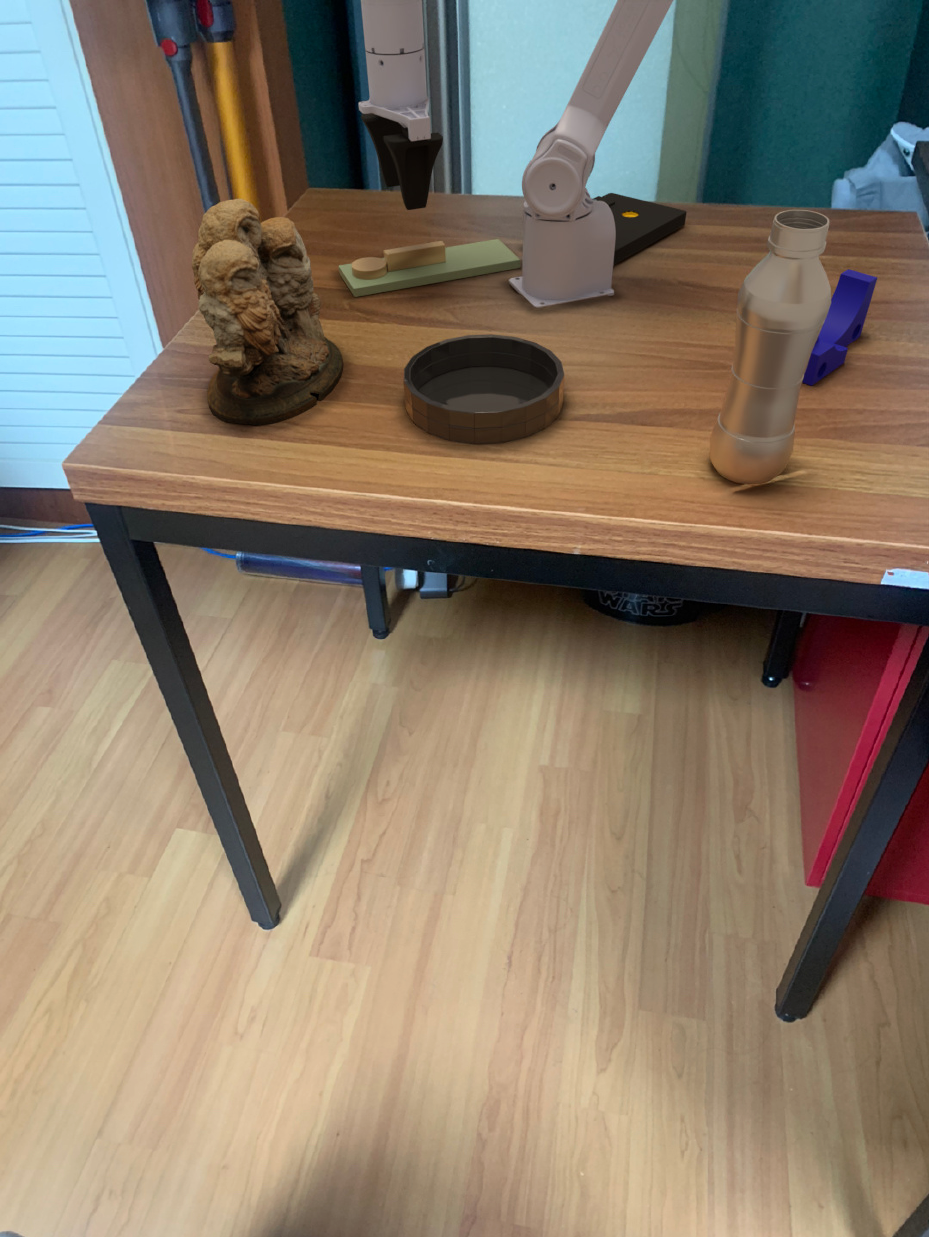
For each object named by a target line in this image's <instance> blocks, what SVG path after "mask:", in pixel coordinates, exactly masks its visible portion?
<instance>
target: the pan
mask: <svg viewBox="0 0 929 1237" xmlns="http://www.w3.org/2000/svg"><path fill="white" fill-rule="evenodd" d="M403 389H404V390H403V391H404V403H405V411H406V413H407V414H408V416H409V418H410V419H411V421H412V423H413V424H415V426H417V427H418V428H419V429H421V430H422V431H424V432H426V433H428V434H430V435H432V436H433V437H436V438H440V439H443V440H446V441H449V442H454V443H455V442H456V443H461V444H469V445H493V444H494V445H495V444H502V443H508V442H513V441H518V440H521V439H525V438H528V437H530V436H533V435H535V434H536V433H539V432H541V431H542V430H544V429H545V428H547V427H548V426H550V425H551V424H552V423H553V422H554V421H555V420H556V419H557V418H558V417H559V415H560V412H561V410H562V407H563V404H564V390H565V370H564V366H563V362H562V361H561V360H560V359H559V357H558V356H557V355H556V354H555V353H554V352H553V351H552V350H550V349H548V348H547V347H545V346H543V345H541V344H540V343H537V342H535V341H533V340H528V339H525V338H520V337H518V336H513V335H511V336H510V335H504V334H503V335H501V334H492V333H490V334H489V333H487V334H467V335H462V336H457V337H451V338H447V339H443V340H441V341H438V342H436V343H433V344H430V345H427V346H426V347H424V348H423V349H421V350H420V351H419V352H417V353H416V354H414V355H413V356H412V357H410V359H409V361H408V362H407V363H406V365H405V366H404V368H403Z"/></svg>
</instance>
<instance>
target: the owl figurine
mask: <svg viewBox="0 0 929 1237" xmlns="http://www.w3.org/2000/svg"><path fill="white" fill-rule="evenodd" d="M197 235H198V237H197V238H198V239H197V240H198V241H197V243H196V244H195V246H194V248H193V249H192V253H191V260H192V261H191V268H192V272H193V277H194V278H193V283H194V285H195V289H196V291H197V298H198V302H197V304H198V310H199V312H200V314H201V315H203V318H204V321H205V323H206V324H207V325H208V327H209V328H211V329H212V331H213V338H214V339H215V343H216V344H214V345H213V346H212V349H211V351H212V352H211V353H210V354H209V355H208V361H209V363H210V364H212V365H214V366H217V367H218V369H217V370H216V372H214V373H213V376H212V377H211V379H210V381H209V383H208V387H207V391H206V398H207V403H208V407H209V409H210V412H211V413H212V415H213V416H214V417H216V418H217V419H218V418H219V419H220V420H221V421H223V422H224V423H226V424H227V423H230V424H232V423H233V424H243V425H246V424H247V425H252V426H257V427H259V426H267V425H273V424H278V423H280V422H284V421H288V420H290V419H293V418H295V417H297V416H299V415H301V414H303V413H305V412H307V411H308V410H310V409H313V408H314V407H315V406H316V405H317V404H318V402H322V401H323V400H324V399H326V397H328V395H329V394H331V392H332V391H334V389H335V387H336V386H337V384H338V383H339V381H340V379H341V378H342V374H343V371H344V359H343V355H342V352H341V350H340V348H339V347H338V346H337V345H336V344H335V343H334V342H333V341H332V340H329V339H328V338H327V337H326V336H325V334H324V330H323V326H322V323H321V320H320V313H321V311H320V310H321V304H322V301H321V296H320V295H319V294H317V293H315V292H314V289H315V288H314V278H313V277H312V276H313V275H312V274H313V271H312V268H311V267H312V266H311V260H310V257H309V256H308V254H307V253H308V251H307V249H306V246H305V245H306V244H304V241H303V238H302V237H301V234H300V233H299V231H298V229H297V227H296V225H295V222H294V221H292V220H291V219H290V218H288V217H283V216H275V217H271V218H268V219H266V220H263V221H262V222H261V215H260V213H259V211H258V210H257V208H256V206H255V205H254V204H252V203H251V202H250V201H247V200H245V199H244V198H234V199H229V200H222V201H219V202H217V204H215V205H212V206H210V207H209V208H208V209H207V210H206V211H205V213H203V215H202V219H201V223H200V226H199V229H198V231H197ZM259 365H260V366H259ZM257 366H258V367H257ZM311 393H312V394H317V395H318V399H317V397H316V396H314V395H312V394H311Z"/></svg>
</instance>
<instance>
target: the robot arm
mask: <svg viewBox="0 0 929 1237" xmlns="http://www.w3.org/2000/svg"><path fill="white" fill-rule="evenodd" d="M673 2H674V0H617V1H616V2H615V5H614V7H613V9H612V11H611V12H610V14H609V17H608V20H607V21H606V23H605V26H604V28H603V29H602V32H601V34H600V35H599V38H598V39H597V41H596V44H595V46H594V48H593V50H592V52H591V54H590V56H589V58H588V60H587V63H586V65H585V66H584V69H583V71H582V73H581V75H580V78H578V81H577V83H576V86H575V88H574V89H573V92H572V94H571V96H570V98H569V101H568V103H567V104H566V106H565V109H564V111H563V113H562V115H561V117H560V119H559V120H558V122H557V123H556V124H555V125H554V126H553V127H552V128H550V129H549V130H548V131H546V132H545V133H544V134H543V135H542V137H541V138H540V139H539V142H538V143H537V145H536V149H535V153H534V154H533V156H532V159H530V161H529V162H528V163H527V165H526V166H525V169H524V171H523V174H522V177H521V191H522V195H523V198H524V200H523V205H522V206H523V210H522V212H523V214H522V266H521V267H522V269H521V270H522V271H521V272H522V273H521V275H520V276H516V277H511V278H509V279H508V284H509V285H510V286H511V287H512V288H513V289H514V290H515V291H516V293H518V294H519V295H522V296H523V297H524V298H525V300H527V301H528V302H529V303H530V304H531V305H532V306H533V307H534V308H536V309H539V308H545V307H550V306H556V305H560V304H566V303H567V304H568V303H571V302H577V301H582V300H587V299H592V298H597V297H603V296H608V297H613V296H614V295H615V290H614V289H613V288H612V284H613V271H614V265H613V262H614V250H615V239H616V230H615V222H614V217H613V214H612V211H611V209H610V207H609V206H608V205H607V204H606V203H605V202H603V201H597V200H593V198H592V197H591V195H590V192H589V191H588V189H587V187H586V186H587V183H588V180H589V178H590V176H591V174H592V172H593V171H594V168H595V163H596V152H597V151H598V148H599V146H600V144H601V142H602V140H603V137H604V136H605V133H606V131H607V129H608V127H609V125H610V123H611V121H612V119H613V117H614V116H615V113H616V112H617V109H618V108H619V107H620V106H619V105H620V104H621V102H622V100H623V98H624V96H625V94H626V93H627V90H628V89H629V86H630V85H631V83H632V81H633V79H634V77H635V75H636V73H637V71H638V69H639V68H640V65H641V63H642V62H643V59H644V58H645V56H646V54H647V52H648V50H649V48H650V46H651V44H652V42H653V41H654V39H655V37H656V35H657V33H658V31H659V29H660V27H661V25H662V24H663V21H664V19H665V17H666V15H667V14H668V12H669V10H670V8H671V6H672V4H673ZM360 6H361V7H360V8H361V19H362V27H363V28H362V29H363V30H362V31H363V38H364V39H363V40H364V49H365V61H366V72H367V83H368V92H369V94H368V95H369V98H368V100H363V101H359V102H358V111H360V113H361V115H360V118H361V121H362V122H363V124H364V126H365V128H366V130H367V132H368V134H369V136H370V139H371V141H372V144H373V147H374V149H375V153H376V156H377V159H378V164H379V168H380V171H381V175H382V178H383V181H384V184H385V186H386V187H387V188H394V187H399V188H400V194H401V197H402V202H403V204H404V207H405V209H406V211H412V210H418V209H419V210H420V209H425V208H427V203H428V199H429V192H430V186H431V180H432V175H433V170H434V166H435V162H436V159H437V157H438V155H439V153H440V150H441V148H442V146H443V141H444V136H443V135H442V134H440V133H439V132H432V131H431V117H430V116H429V111H430V97H428V91H427V90H428V89H427V88H428V87H427V70H426V50H425V35H424V18H423V17H424V16H423V0H360Z"/></svg>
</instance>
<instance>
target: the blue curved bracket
mask: <svg viewBox="0 0 929 1237" xmlns="http://www.w3.org/2000/svg"><path fill="white" fill-rule="evenodd" d="M877 281H878V276H874V275H870V274H867V273H864V272H861V271H860V272H859V271H856V270H852V269H850V268H849V269H846V270H845V271H843V272H842V273H840V275H839V279H838V281H837V284H836V287H835V289H834V292H833V295H831V305H830V308H829V311H828V314H827V317H826V319H825V321H824V324H823V326H822V329H821V331H820V333H819V336H818V338H817V341H816V343H815V345H814V348H813V350H812V352H811V355H810V359H809V362H808V365H807V368H806V371H805V373H804V378H803V381H802V383H803V384H805V385H808V386H811V387H812V386H813V385H815V384H817V383H818V382H819V381H821V380H822V379H823V378H825V377H826V376H828V375H829V374H831V373H832V372H834V371H835V370H836V369H837V368H839V367H841V366H842V365H843V364H844V363H845V362H846V358H847V354H848V350H849V347H848V346H849V345H850V344H852V343H853V342H855V341H856V340H858V339H859V338H860V337H861V336H862V332H863V328H864V325H865V321H866V318H867V315H868V312H869V309H870V306H871V302H872V297H873V295H874V291H875V287H876V285H877Z"/></svg>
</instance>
